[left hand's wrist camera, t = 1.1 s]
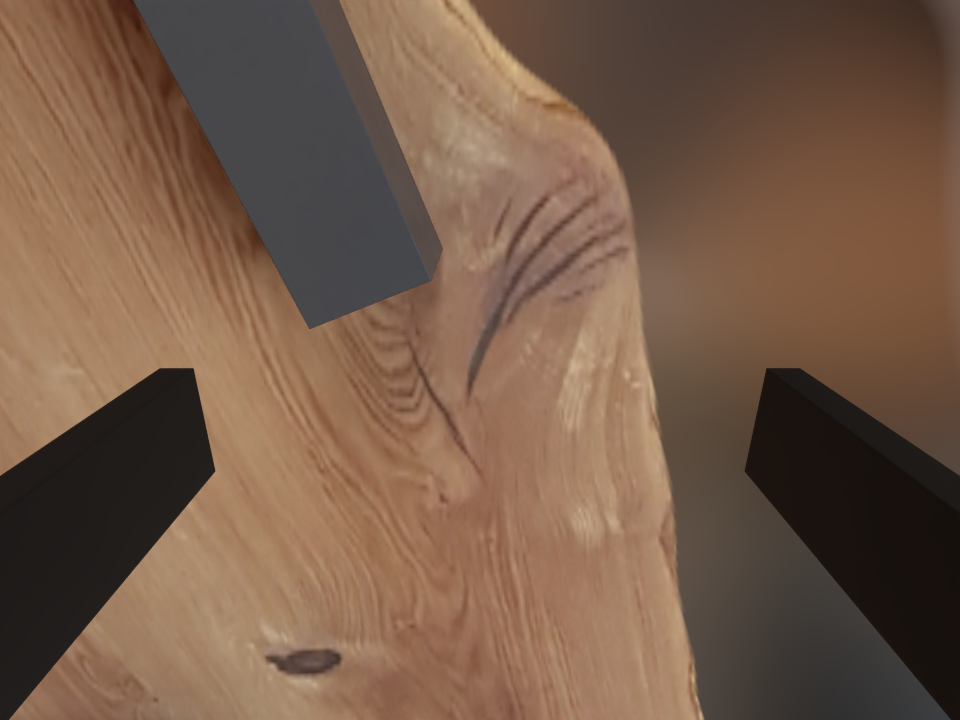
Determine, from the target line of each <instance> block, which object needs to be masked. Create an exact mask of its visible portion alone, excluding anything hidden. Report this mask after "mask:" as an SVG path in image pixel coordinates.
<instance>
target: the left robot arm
mask: <svg viewBox="0 0 960 720" xmlns="http://www.w3.org/2000/svg"><path fill="white" fill-rule="evenodd" d="M214 472H215V467H214V462H213V458H212V453H211V448H210V444H209V439H208V434H207V430H206V425H205V420H204V415H203V411H202V406H201V401H200V397H199V392H198V387H197V383H196V378H195V373H194V369H193V368H160V369H158V370H157V371H155V372H154V373H152V374H151V375H149V376H148V377H146V378H145V379H143V380H142V381H140V382H139V383H138V384H136V385H135V386H133V387H132V388H130V389H129V390H127V391H126V392H124V393H123V394H121V395H120V396H118V397H117V398H115V399H114V400H112V401H111V402H109V403H108V404H106V405H105V406H103V407H102V408H100V409H99V410H97V411H96V412H94V413H93V414H91V415H90V416H88V417H87V418H86V419H84V420H83V421H81V422H80V423H78V424H77V425H75V426H74V427H72V428H71V429H69V430H68V431H66V432H65V433H63V434H62V435H60V436H59V437H57V438H56V439H54V440H53V441H51V442H50V443H48V444H47V445H45V446H44V447H42V448H41V449H39V450H38V451H37V452H35V453H34V454H32V455H31V456H29V457H28V458H26V459H25V460H23V461H22V462H20V463H19V464H17V465H16V466H14V467H13V468H11V469H10V470H8V471H7V472H5V473H4V474H2V475H1V476H0V720H9V719H10V718H11V717H12V715H13V714H14V713H15V712H16V710H17V709H18V708H19V707H20V706H21V704H22V703H23V702H24V701H25V700H26V698H27V697H28V696H29V695H30V694H31V692H32V691H33V690H34V689H35V688H36V686H37V685H38V684H39V683H40V682H41V680H42V679H43V678H44V677H45V676H46V674H47V673H48V672H49V671H50V670H51V668H52V667H53V666H54V665H55V664H56V662H57V661H58V660H59V659H60V658H61V656H62V655H63V654H64V653H65V652H66V650H67V649H68V648H69V647H70V646H71V644H72V643H73V642H74V641H75V640H76V638H77V637H78V636H79V635H80V634H81V632H82V631H83V630H84V629H85V627H86V626H87V625H88V624H89V623H90V621H91V620H92V619H93V618H94V617H95V615H96V614H97V613H98V612H99V611H100V609H101V608H102V607H103V606H104V605H105V603H106V602H107V601H108V600H109V599H110V597H111V596H112V595H113V594H114V593H115V591H116V590H117V589H118V588H119V587H120V585H121V584H122V583H123V582H124V581H125V579H126V578H127V577H128V576H129V575H130V573H131V572H132V571H133V570H134V569H135V567H136V566H137V565H138V564H139V563H140V561H141V560H142V559H143V558H144V557H145V555H146V554H147V553H148V552H149V550H150V549H151V548H152V547H153V546H154V544H155V543H156V542H157V541H158V540H159V538H160V537H161V536H162V535H163V534H164V532H165V531H166V530H167V529H168V528H169V526H170V525H171V524H172V523H173V522H174V520H175V519H176V518H177V517H178V516H179V514H180V513H181V512H182V511H183V510H184V508H185V507H186V506H187V505H188V504H189V502H190V501H191V500H192V499H193V498H194V496H195V495H196V494H197V493H198V492H199V490H200V489H201V488H202V487H203V486H204V484H205V483H206V482H207V481H208V480H209V478H210V477H211V476H212V475H213V474H214ZM745 472H746V474H747V475H748V476H749V477H750V478H751V479H752V481H753V482H754V483H755V484H756V485H757V487H758V488H759V489H760V490H761V492H762V493H763V494H764V495H765V496H766V498H767V499H768V500H769V501H770V502H771V503H772V505H773V506H774V507H775V508H776V510H777V511H778V512H779V513H780V514H781V516H782V517H783V518H784V519H785V520H786V522H787V523H788V524H789V525H790V526H791V528H792V529H793V530H794V531H795V532H796V534H797V535H798V536H799V537H800V538H801V540H802V541H803V542H804V543H805V544H806V546H807V547H808V548H809V549H810V550H811V552H812V553H813V554H814V555H815V556H816V558H817V559H818V560H819V561H820V562H821V564H822V565H823V566H824V567H825V569H826V570H827V571H828V572H829V573H830V575H831V576H832V577H833V578H834V579H835V581H836V582H837V583H838V584H839V585H840V587H841V588H842V589H843V590H844V591H845V593H846V594H847V595H848V596H849V597H850V599H851V600H852V601H853V602H854V603H855V605H856V606H857V607H858V608H859V609H860V611H861V612H862V613H863V614H864V615H865V617H866V618H867V619H868V620H869V621H870V623H871V624H872V625H873V626H874V627H875V629H876V630H877V631H878V632H879V633H880V635H881V636H882V637H883V638H884V639H885V641H886V642H887V643H888V644H889V646H890V647H891V648H892V649H893V650H894V652H895V653H896V654H897V655H898V656H899V657H900V659H901V660H902V661H903V662H904V664H905V665H906V666H907V667H908V668H909V670H910V671H911V672H912V673H913V674H914V676H915V677H916V678H917V679H918V680H919V682H920V683H921V684H922V685H923V686H924V688H925V689H926V690H927V691H928V692H929V694H930V695H931V696H932V697H933V698H934V700H935V701H936V702H937V703H938V704H939V706H940V707H941V708H942V709H943V710H944V712H945V713H946V714H947V715H948V717H949V718H950V719H951V720H960V476H959V475H958V474H956V473H955V472H953V471H952V470H950V469H949V468H947V467H946V466H944V465H943V464H941V463H940V462H938V461H937V460H935V459H934V458H932V457H931V456H929V455H928V454H926V453H925V452H923V451H922V450H920V449H919V448H918V447H916V446H915V445H913V444H912V443H910V442H909V441H907V440H906V439H904V438H903V437H901V436H900V435H898V434H897V433H895V432H894V431H892V430H891V429H889V428H888V427H886V426H885V425H883V424H882V423H880V422H879V421H877V420H876V419H874V418H873V417H872V416H870V415H868V414H867V413H866V412H864V411H863V410H861V409H860V408H858V407H857V406H855V405H854V404H852V403H851V402H849V401H848V400H846V399H845V398H843V397H842V396H840V395H839V394H837V393H836V392H834V391H833V390H831V389H830V388H828V387H827V386H825V385H824V384H822V383H821V382H820V381H818V380H816V379H815V378H814V377H812V376H811V375H809V374H808V373H806V372H805V371H803V370H802V369H800V368H767V369H766V373H765V378H764V383H763V387H762V392H761V397H760V401H759V406H758V411H757V416H756V420H755V425H754V430H753V434H752V439H751V444H750V448H749V453H748V458H747V462H746V467H745Z"/></svg>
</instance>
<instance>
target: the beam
mask: <svg viewBox="0 0 960 720" xmlns="http://www.w3.org/2000/svg"><path fill="white" fill-rule="evenodd" d="M133 1H134V3H135V5H136V7H137V9H138V11H139V13H140V15H141V16H142V18H143V20H144V22H145V24H146V26H147V28H148V29H149V31H150V33H151V35H152V37H153V39H154V41H155V42H156V44H157V46H158V48H159V50H160V52H161V54H162V55H163V57H164V59H165V61H166V63H167V65H168V67H169V68H170V70H171V72H172V74H173V76H174V78H175V80H176V82H177V83H178V85H179V87H180V89H181V91H182V93H183V95H184V96H185V98H186V100H187V102H188V104H189V106H190V108H191V109H192V111H193V113H194V115H195V117H196V119H197V121H198V122H199V124H200V126H201V128H202V130H203V132H204V134H205V135H206V137H207V139H208V141H209V143H210V145H211V147H212V149H213V150H214V152H215V154H216V156H217V158H218V160H219V162H220V163H221V165H222V167H223V169H224V171H225V173H226V175H227V176H228V178H229V180H230V182H231V184H232V186H233V188H234V189H235V191H236V193H237V195H238V197H239V199H240V201H241V203H242V204H243V206H244V208H245V210H246V212H247V214H248V216H249V217H250V219H251V221H252V223H253V225H254V227H255V229H256V230H257V232H258V234H259V236H260V238H261V240H262V242H263V243H264V245H265V247H266V249H267V251H268V253H269V255H270V256H271V258H272V260H273V262H274V264H275V266H276V268H277V270H278V271H279V273H280V275H281V277H282V279H283V281H284V283H285V284H286V286H287V288H288V290H289V292H290V294H291V296H292V297H293V299H294V301H295V303H296V305H297V307H298V309H299V310H300V312H301V314H302V316H303V318H304V320H305V322H306V323H307V325H308V327H309V329H311V328H314V327H316V326H319V325H321V324H324V323H326V322H329V321H331V320H334V319H336V318H339V317H341V316H344V315H346V314H349V313H351V312H354V311H356V310H359V309H361V308H364V307H366V306H369V305H371V304H374V303H376V302H379V301H381V300H384V299H386V298H389V297H391V296H394V295H396V294H399V293H401V292H404V291H406V290H409V289H411V288H414V287H416V286H419V285H421V284H424V283H426V282H429V281H431V280H432V277H433V274H434V271H435V269H436V266H437V263H438V260H439V257H440V255H441V252H442V249H443V248H442V246H441V243H440V241H439V238H438V236H437V234H436V231H435V229H434V227H433V224H432V222H431V219H430V217H429V215H428V212H427V210H426V207H425V205H424V203H423V200H422V198H421V195H420V193H419V191H418V188H417V186H416V184H415V181H414V179H413V176H412V174H411V172H410V169H409V167H408V164H407V162H406V160H405V157H404V155H403V152H402V150H401V148H400V145H399V143H398V141H397V138H396V136H395V133H394V131H393V129H392V126H391V124H390V121H389V119H388V117H387V114H386V112H385V109H384V107H383V105H382V102H381V100H380V98H379V95H378V93H377V90H376V88H375V86H374V83H373V81H372V78H371V76H370V74H369V71H368V69H367V66H366V64H365V62H364V59H363V57H362V55H361V52H360V50H359V47H358V45H357V43H356V40H355V38H354V35H353V33H352V31H351V28H350V26H349V24H348V21H347V19H346V16H345V14H344V12H343V9H342V7H341V4H340V2H339V0H133Z"/></svg>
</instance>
